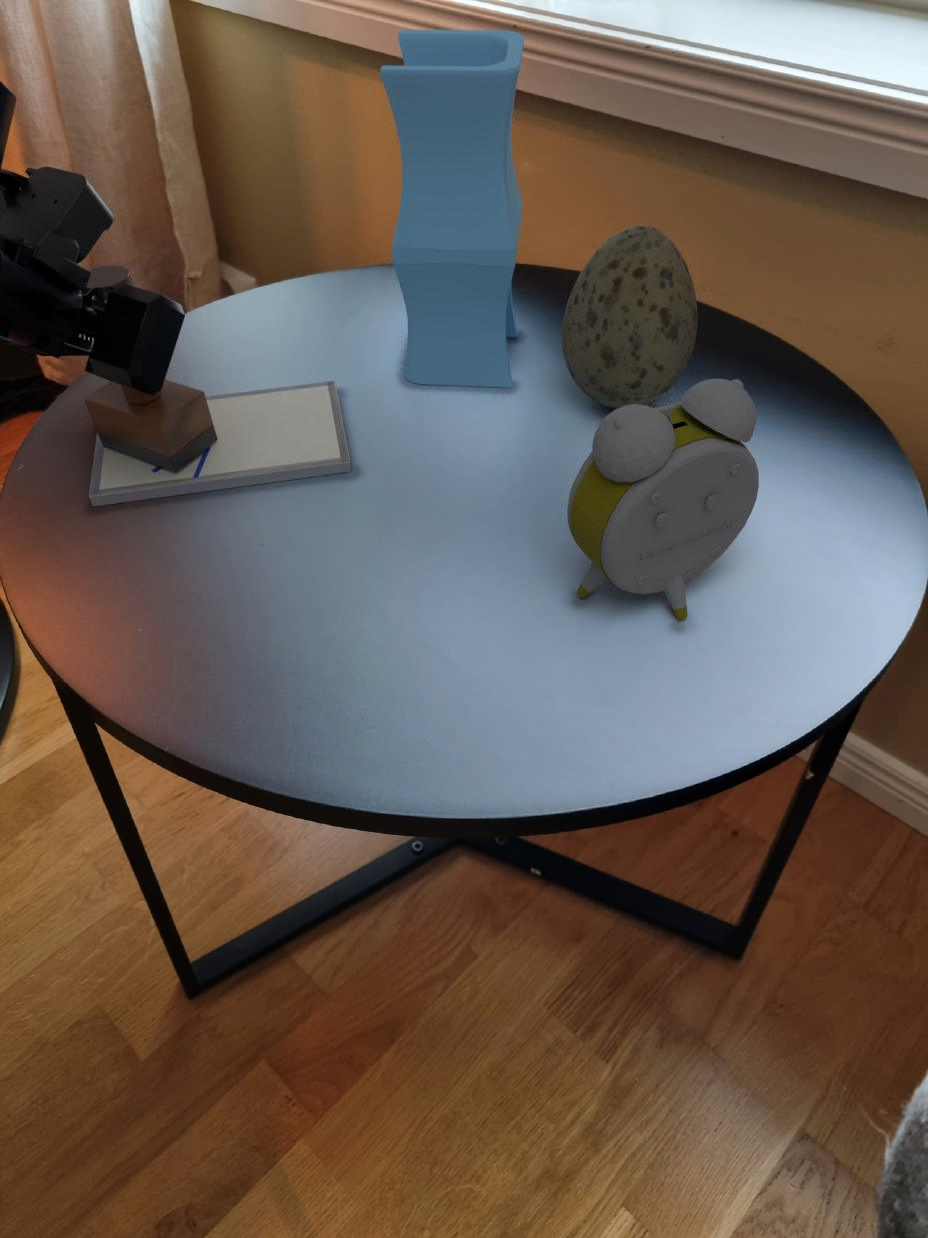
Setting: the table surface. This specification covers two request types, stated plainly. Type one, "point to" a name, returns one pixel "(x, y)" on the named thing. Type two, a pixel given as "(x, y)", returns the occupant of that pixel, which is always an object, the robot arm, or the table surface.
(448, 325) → the vase
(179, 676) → the table surface
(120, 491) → the board
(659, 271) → the decorative egg
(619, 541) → the alarm clock
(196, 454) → the wooden rubber stamp
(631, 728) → the table surface
